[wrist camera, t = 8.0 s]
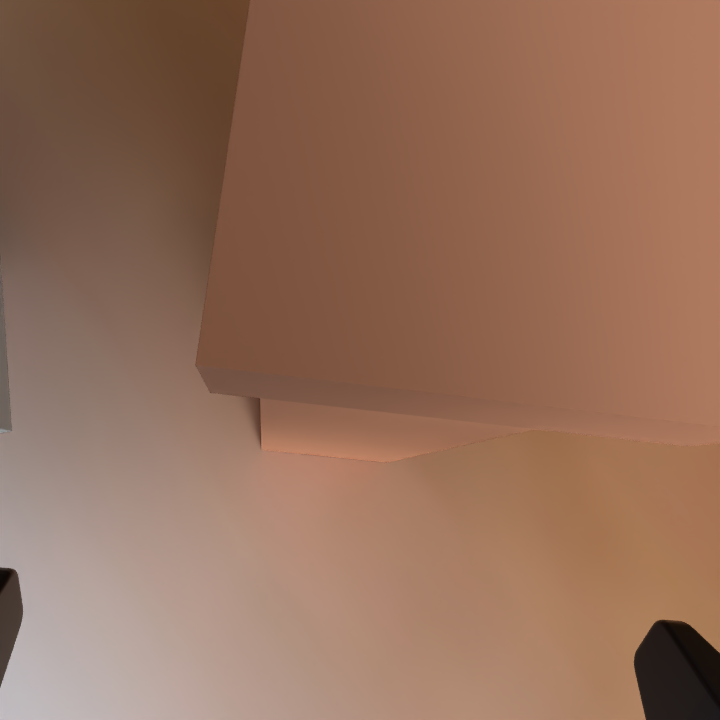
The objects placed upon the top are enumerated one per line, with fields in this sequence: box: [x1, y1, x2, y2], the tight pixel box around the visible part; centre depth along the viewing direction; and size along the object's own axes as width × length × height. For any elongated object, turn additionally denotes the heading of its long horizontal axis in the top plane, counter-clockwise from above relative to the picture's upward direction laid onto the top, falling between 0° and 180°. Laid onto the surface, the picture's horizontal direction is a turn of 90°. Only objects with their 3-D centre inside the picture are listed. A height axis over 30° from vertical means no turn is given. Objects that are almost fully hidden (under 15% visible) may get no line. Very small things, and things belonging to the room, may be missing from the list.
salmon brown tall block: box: [196, 0, 720, 463], centre depth 12 cm, size 4×4×14 cm
